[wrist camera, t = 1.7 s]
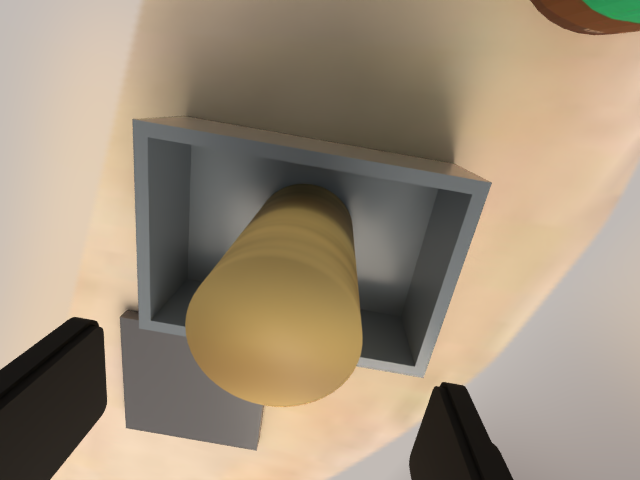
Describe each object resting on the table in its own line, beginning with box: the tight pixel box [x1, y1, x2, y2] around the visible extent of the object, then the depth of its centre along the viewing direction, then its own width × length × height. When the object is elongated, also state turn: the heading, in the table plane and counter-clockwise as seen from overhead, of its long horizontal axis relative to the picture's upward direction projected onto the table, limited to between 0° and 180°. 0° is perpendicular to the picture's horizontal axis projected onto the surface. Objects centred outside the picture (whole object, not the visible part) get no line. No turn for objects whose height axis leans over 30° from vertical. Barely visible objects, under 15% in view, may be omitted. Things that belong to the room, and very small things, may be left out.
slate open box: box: [133, 116, 492, 378], centre depth 18 cm, size 10×15×5 cm
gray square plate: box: [120, 311, 264, 451], centre depth 25 cm, size 10×10×1 cm
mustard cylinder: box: [185, 184, 362, 407], centre depth 15 cm, size 6×6×10 cm
